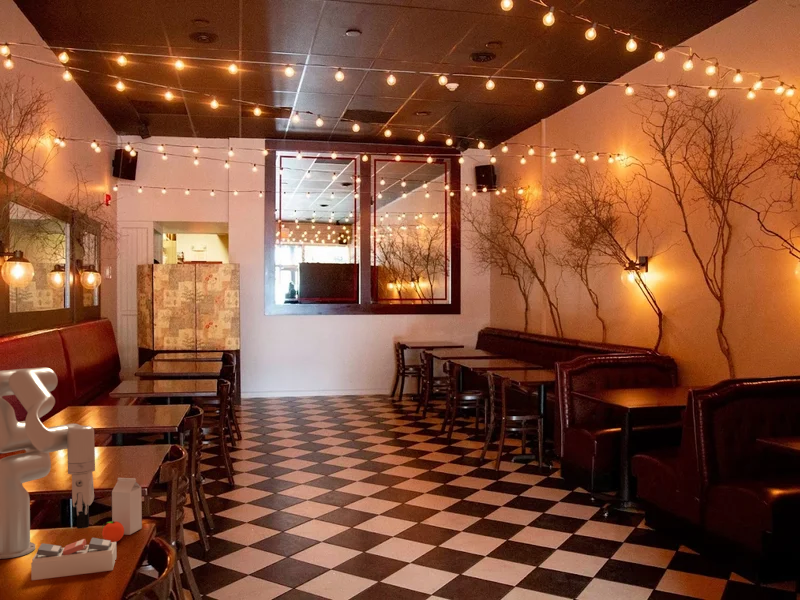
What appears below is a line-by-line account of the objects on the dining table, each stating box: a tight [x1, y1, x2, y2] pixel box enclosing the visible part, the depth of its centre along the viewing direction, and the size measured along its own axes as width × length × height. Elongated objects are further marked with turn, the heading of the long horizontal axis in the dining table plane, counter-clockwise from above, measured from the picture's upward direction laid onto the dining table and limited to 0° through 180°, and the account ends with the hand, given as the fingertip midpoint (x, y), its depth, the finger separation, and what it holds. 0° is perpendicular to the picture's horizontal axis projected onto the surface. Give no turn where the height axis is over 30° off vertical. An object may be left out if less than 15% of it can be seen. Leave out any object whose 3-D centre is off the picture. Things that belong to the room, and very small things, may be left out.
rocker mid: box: [63, 538, 87, 555], centre depth 201 cm, size 6×6×2 cm
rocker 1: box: [36, 542, 62, 556], centre depth 199 cm, size 6×6×2 cm
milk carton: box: [111, 477, 143, 536], centre depth 236 cm, size 7×7×19 cm
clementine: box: [101, 520, 125, 543], centre depth 225 cm, size 8×7×7 cm
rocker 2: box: [88, 537, 111, 550], centre depth 203 cm, size 6×6×2 cm
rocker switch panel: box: [30, 542, 117, 581], centre depth 202 cm, size 22×11×6 cm, turn 108°
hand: (83, 527), depth 201 cm, fingers closed
